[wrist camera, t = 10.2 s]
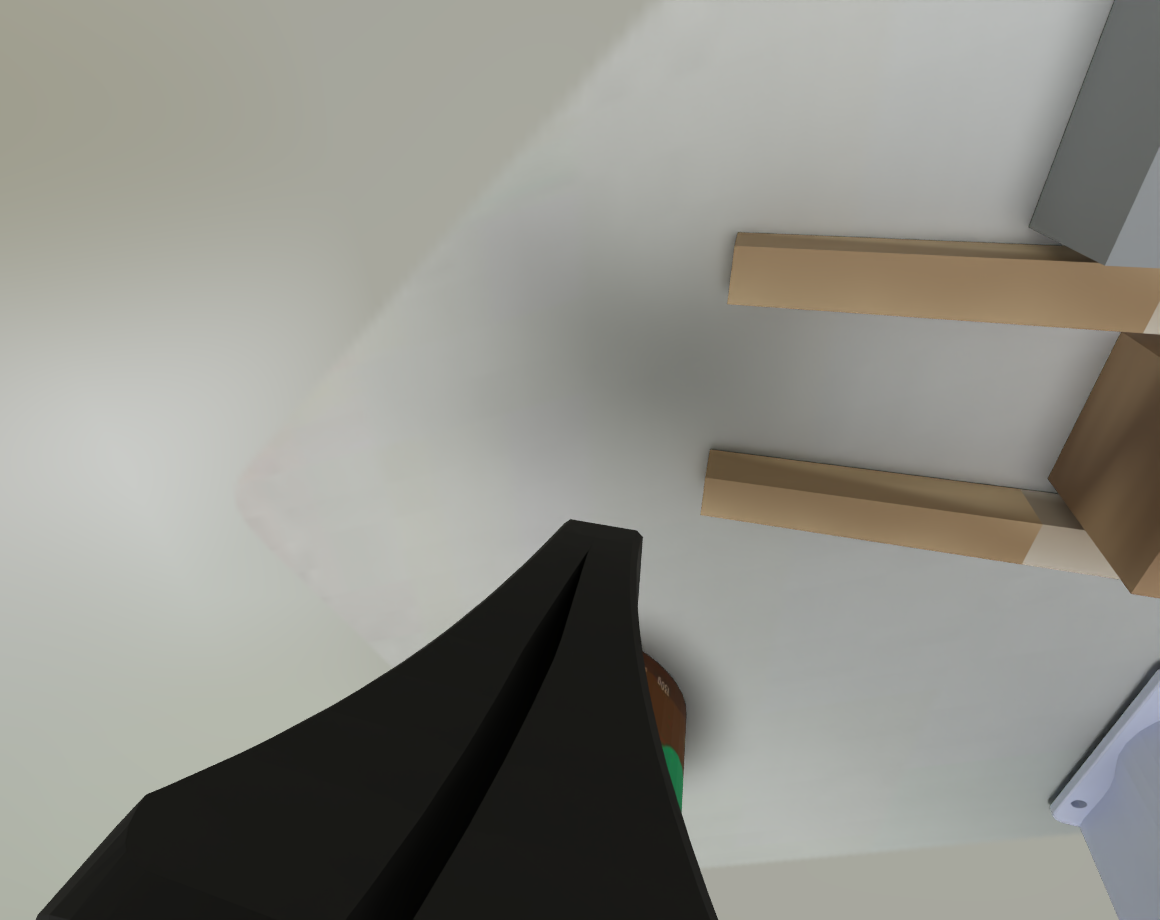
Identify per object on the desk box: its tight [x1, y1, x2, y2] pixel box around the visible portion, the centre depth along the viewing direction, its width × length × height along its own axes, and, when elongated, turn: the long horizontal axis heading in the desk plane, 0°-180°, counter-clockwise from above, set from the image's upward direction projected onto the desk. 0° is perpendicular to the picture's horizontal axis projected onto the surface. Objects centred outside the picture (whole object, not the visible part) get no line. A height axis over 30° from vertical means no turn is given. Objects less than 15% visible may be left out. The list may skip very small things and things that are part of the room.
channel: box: [701, 232, 1160, 580], centre depth 15 cm, size 9×18×2 cm, turn 90°
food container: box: [642, 651, 686, 812], centre depth 25 cm, size 12×6×10 cm, turn 165°
